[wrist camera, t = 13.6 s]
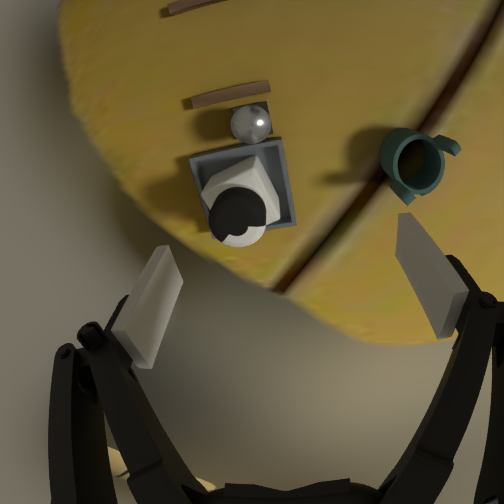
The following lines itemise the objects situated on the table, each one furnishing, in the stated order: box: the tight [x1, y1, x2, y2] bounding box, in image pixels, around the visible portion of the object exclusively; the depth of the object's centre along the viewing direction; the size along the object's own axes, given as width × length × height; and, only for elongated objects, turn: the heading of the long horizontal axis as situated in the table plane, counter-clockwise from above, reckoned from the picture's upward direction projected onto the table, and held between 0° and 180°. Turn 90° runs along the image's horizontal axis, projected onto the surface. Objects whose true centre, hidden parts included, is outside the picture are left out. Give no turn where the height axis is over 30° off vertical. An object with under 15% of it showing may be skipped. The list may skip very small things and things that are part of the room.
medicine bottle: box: [201, 155, 280, 247], centre depth 34 cm, size 7×7×12 cm
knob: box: [231, 101, 273, 144], centre depth 33 cm, size 5×5×6 cm
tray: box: [189, 137, 297, 239], centre depth 39 cm, size 12×12×2 cm
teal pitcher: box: [380, 128, 461, 206], centre depth 32 cm, size 9×9×9 cm
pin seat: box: [167, 0, 271, 109], centre depth 29 cm, size 16×10×2 cm, turn 12°
